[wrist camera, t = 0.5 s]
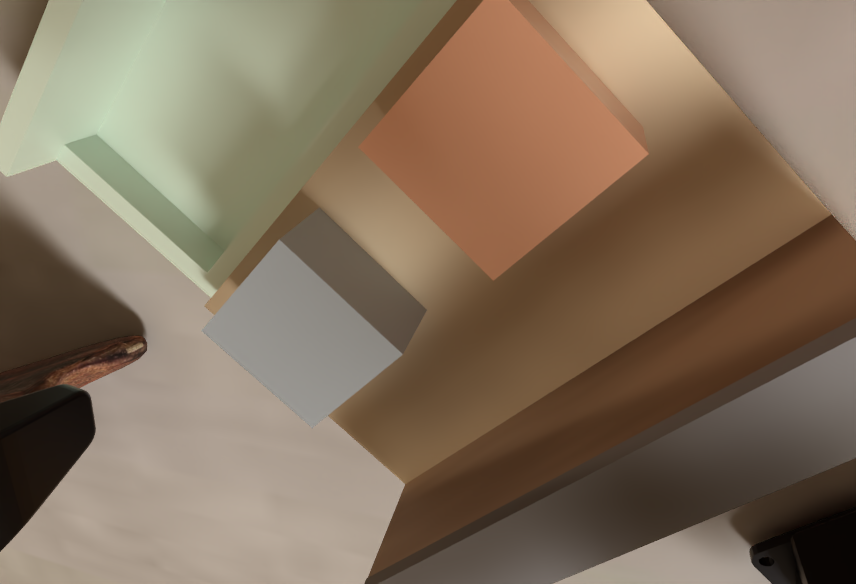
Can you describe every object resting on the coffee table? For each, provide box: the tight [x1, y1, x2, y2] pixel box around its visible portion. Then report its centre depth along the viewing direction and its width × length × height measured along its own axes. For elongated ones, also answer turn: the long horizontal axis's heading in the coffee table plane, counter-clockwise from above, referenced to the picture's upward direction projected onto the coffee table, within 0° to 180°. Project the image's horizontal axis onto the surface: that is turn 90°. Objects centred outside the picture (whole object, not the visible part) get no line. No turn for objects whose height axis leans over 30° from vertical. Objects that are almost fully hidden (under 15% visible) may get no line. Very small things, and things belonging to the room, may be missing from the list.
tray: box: [0, 0, 457, 297], centre depth 17 cm, size 8×17×4 cm, turn 138°
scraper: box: [365, 214, 856, 584], centre depth 16 cm, size 2×16×4 cm, turn 138°
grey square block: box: [202, 207, 427, 428], centre depth 18 cm, size 4×4×2 cm
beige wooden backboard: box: [205, 0, 831, 484], centre depth 19 cm, size 14×16×3 cm
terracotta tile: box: [358, 0, 649, 281], centre depth 14 cm, size 4×4×2 cm
